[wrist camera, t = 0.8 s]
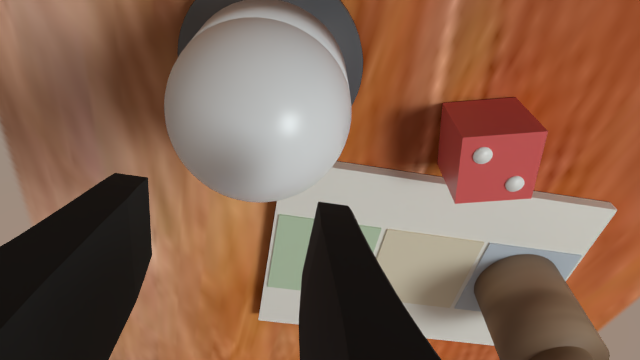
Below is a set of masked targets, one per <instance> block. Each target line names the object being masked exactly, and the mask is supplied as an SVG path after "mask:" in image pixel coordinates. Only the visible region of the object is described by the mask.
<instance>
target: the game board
mask: <svg viewBox="0 0 640 360" xmlns="http://www.w3.org/2000/svg"><path fill="white" fill-rule="evenodd" d="M318 202H325V203H332V204H339V205H347V206H349V207H350V209H351V210H352V212H353V214H354V216H355V218H356V220H357V222H358V224H359V227H360V229H361V231H362V233H363V235H364V236H365V238H366V240H367V242H368V244H369V246H370V248H371V250H372V252H373V254H374V255H375V257H376V259H377V261H378V263H379V264H380V266H381V268H382V270H383V271H384V273H385V275H386V276H387V278H388V280H389V281H390V283H391V285H392V287H393V288H394V290H395V292H396V293H397V295H398V297H399V298H400V300H401V301H402V303H403V305H404V306H405V308H406V309H407V311H408V312H409V314H410V315H411V317H412V318H413V320H414V321H415V323H416V324H417V326H418V327H419V329H420V330H421V332H422V333H423V335H424V336H425V338H429V339H438V340H447V341H456V342H466V343H475V344H484V345H493V346H494V343H493V341H492V338H491V335H490V333H489V330H488V328H487V325H486V323H485V320H484V317H483V315H482V312H481V310H480V307H479V305H478V302H477V300H476V297H475V294H474V285H475V282H476V280H477V278H478V277H479V275H480V274H481V273H482V272H483V271H484V270H485V269H486V268H487V267H489V266H490V265H491V264H493V263H495V262H497V261H499V260H501V259H504V258H506V257H510V256H514V255H520V254H534V255H539V256H542V257H545V258H547V259H549V260H550V261H552V262H553V263H554V264H555V266H556V267H557V269H558V271H559V272H560V274H561V275H562V277H563V279H564V280H565V282H566V280H567V279H568V278H569V276H570V275H571V273H572V272H573V271H574V269H575V268H576V267H577V265H578V264H579V262H580V261H581V260H582V258H583V257H584V256H585V254H586V253H587V251H588V250H589V249H590V247H591V246H592V245H593V243H594V242H595V240H596V239H597V238H598V236H599V235H600V234H601V232H602V231H603V229H604V228H605V227H606V225H607V224H608V223H609V221H610V220H611V218H612V217H613V216H614V214H615V213H616V211H617V209H616V208H615V207H614V206H613V205H612V204H611V203H610V202H604V201H597V200H591V199H584V198H577V197H571V196H564V195H558V194H551V193H544V192H538V191H533V194H532V198H531V199H517V200H503V201H489V202H474V203H460V204H455V203H454V201H453V198H452V196H451V194H450V192H449V189H448V187H447V185H446V182H445V180H444V178H443V177H438V176H432V175H425V174H418V173H412V172H405V171H399V170H392V169H385V168H379V167H372V166H365V165H359V164H352V163H346V162H339V161H336V162H335V164H334V165H333V167H332V168H331V169H330V170H329V171H328V173H327V174H326V175H325V176H324V177H323V178H321V179H320V180H319V181H318V182H317V183H316V184H314V185H313V186H311V187H310V188H308V189H307V190H305V191H303V192H301V193H299V194H297V195H295V196H292V197H289V198H286V199H282V200H278V201H277V203H276V209H275V216H274V222H273V228H272V235H271V241H270V248H269V254H268V260H267V267H266V273H265V280H264V286H263V292H262V299H261V305H260V311H259V319H258V320H262V321H272V322H281V323H290V324H299V308H300V294H301V281H302V271H303V267H304V263H305V258H306V254H307V249H308V245H309V240H310V236H311V231H312V227H313V222H314V218H315V214H316V209H317V205H318Z"/></svg>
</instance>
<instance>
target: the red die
mask: <svg viewBox="0 0 640 360" xmlns="http://www.w3.org/2000/svg"><path fill="white" fill-rule="evenodd" d="M547 133H548V131H547V130H546V129H545V128H544V127H543V126H542V125H541V124H540V122H539V121H538V120H537V119H536V118H535V117H534V116H533V115H532V114H531V113H530V112H529V111H528V110H527V109H526V108H525V107H524V106H523V105H522V104H521V102H520V101H519V100H518V99H517V98H516V97H512V98H499V99H486V100H473V101H461V102H448V103H442V114H441V126H440V137H439V149H438V161H437V164H438V167H439V169H440V171H441V173H442V176H443V178H444V180H445V182H446V185H447V187H448V189H449V192H450V194H451V196H452V198H453V201H454V203H455V204H460V203H474V202H489V201H503V200H517V199H531V198H532V194H533V190H534V186H535V182H536V178H537V174H538V170H539V165H540V161H541V157H542V153H543V149H544V145H545V141H546V137H547Z"/></svg>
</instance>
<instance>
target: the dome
mask: <svg viewBox="0 0 640 360" xmlns="http://www.w3.org/2000/svg"><path fill="white" fill-rule="evenodd" d="M164 112H165V122H166V127H167V131H168V135H169V138H170V140H171V143H172V145H173V147H174V149H175V151H176V153H177V155H178V157H179V158H180V160H181V161H182V163H183V164H184V165H185V167H186V168H187V169H188V170H189V171H190V172H191V173H192V174H193V175H194V176H195V177H196V178H197V179H198V180H200V181H201V182H202V183H203V184H205V185H206V186H208V187H209V188H211V189H212V190H214V191H216V192H218V193H220V194H222V195H225V196H227V197H230V198H233V199H237V200H242V201H247V202H272V201H278V200H282V199H286V198H289V197H292V196H295V195H297V194H299V193H301V192H303V191H305V190H307V189H308V188H310V187H311V186H313V185H314V184H316V183H317V182H318V181H319V180H320V179H321V178H323V177H324V176H325V175H326V174H327V173H328V171H329V170H330V169H331V168H332V167H333V165H334V164H335V162H336V161H337V159H338V158H339V156H340V154H341V152H342V150H343V148H344V146H345V143H346V140H347V137H348V134H349V129H350V124H351V97H350V90H349V84H348V78H347V72H346V66H345V62H344V58H343V55H342V52H341V50H340V48H339V45H338V44H337V42H336V40H335V38H334V37H333V35H332V34H331V33H330V31H329V30H328V29H327V28H326V27H325V26H324V25H323V24H322V23H321V22H320V21H319V20H318V19H317V18H316V17H314V16H313V15H312V14H311V13H309V12H307V11H306V10H304V9H302V8H300V7H298V6H296V5H293V4H291V3H288V2H284V1H281V0H243V1H240V2H236V3H233V4H231V5H229V6H227V7H225V8H223V9H221V10H220V11H218V12H217V13H215V14H214V15H213V16H212V17H211V18H210V19H208V20H207V21H206V22H205V24H204V25H203V26H202V27H201V29H200V30H199V31H198V32H197V33H196V35H195V36H194V37H193V38H192V40H191V41H190V42H189V43H188V44H187V46H186V47H185V48H184V50H183V51H182V52H181V53H180V55H179V57H178V59H177V60H176V62H175V64H174V66H173V68H172V70H171V72H170V75H169V78H168V81H167V86H166V91H165V97H164Z"/></svg>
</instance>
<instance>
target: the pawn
mask: <svg viewBox="0 0 640 360" xmlns="http://www.w3.org/2000/svg"><path fill="white" fill-rule="evenodd" d="M474 294H475V297H476V300H477V302H478V305H479V307H480V310H481V312H482V315H483V317H484V320H485V323H486V325H487V328H488V330H489V333H490V335H491V338H492V341H493V343H494V346H495V348H496V351H497V353H498V356H499V358H500V360H609V356H610V355H609V350H608V348H607V347H606V345H605V344H604V342H603V340H602V339H601V337H600V336H599V334H598V332H597V331H596V329H595V328H594V326H593V324H592V323H591V321H590V320H589V318H588V317H587V315H586V313H585V312H584V310H583V309H582V307H581V305H580V304H579V302H578V301H577V299H576V298H575V296H574V294H573V293H572V291H571V290H570V288H569V286H568V285H567V283H566V282H565V280H564V279H563V277H562V275H561V274H560V272H559V271H558V269H557V267H556V266H555V264H554V263H553V262H552V261H550V260H549V259H547V258H545V257H542V256H539V255H534V254H520V255H514V256H510V257H506V258H504V259H501V260H499V261H497V262H495V263H493V264H491V265H490V266H489V267H487V268H486V269H485V270H484V271H483V272H482V273H481V274H480V275H479V277H478V278H477V280H476V282H475V285H474Z"/></svg>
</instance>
